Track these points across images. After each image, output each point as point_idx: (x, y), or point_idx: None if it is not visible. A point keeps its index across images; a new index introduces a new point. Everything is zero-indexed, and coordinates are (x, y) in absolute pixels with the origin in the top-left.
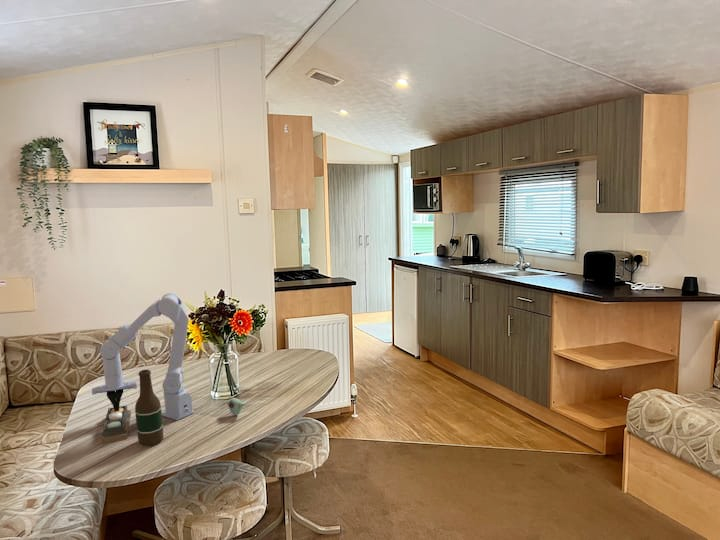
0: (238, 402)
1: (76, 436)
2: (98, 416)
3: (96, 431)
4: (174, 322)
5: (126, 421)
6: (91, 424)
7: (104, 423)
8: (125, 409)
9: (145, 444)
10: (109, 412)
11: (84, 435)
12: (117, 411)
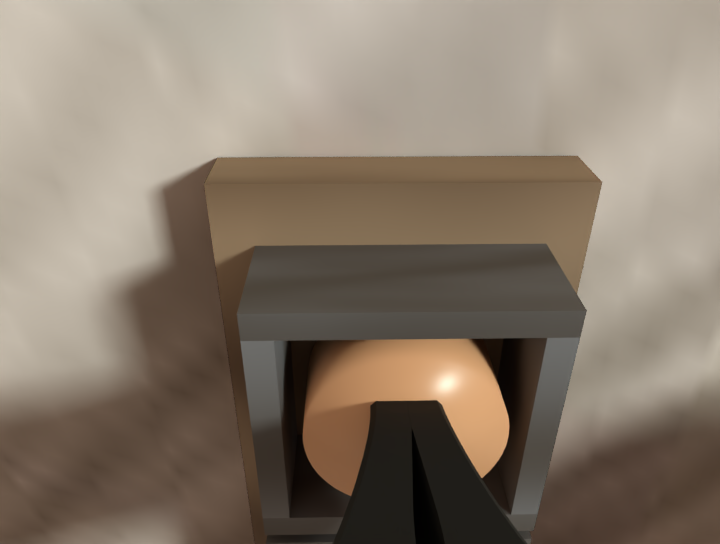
0: None
1: (8, 527)
2: (39, 26)
3: (184, 495)
4: None
5: None
6: (49, 309)
7: (248, 489)
8: (536, 462)
9: None
10: (284, 437)
11: (85, 532)
12: None
